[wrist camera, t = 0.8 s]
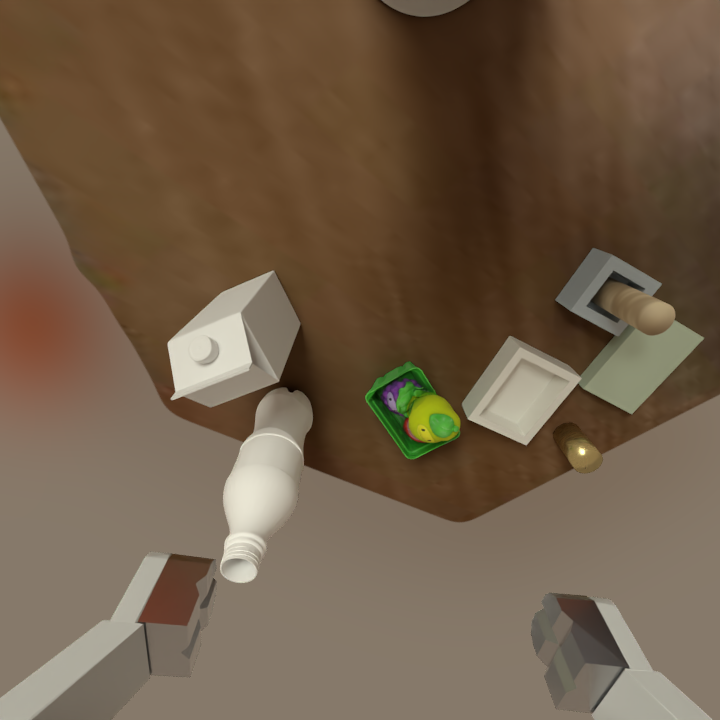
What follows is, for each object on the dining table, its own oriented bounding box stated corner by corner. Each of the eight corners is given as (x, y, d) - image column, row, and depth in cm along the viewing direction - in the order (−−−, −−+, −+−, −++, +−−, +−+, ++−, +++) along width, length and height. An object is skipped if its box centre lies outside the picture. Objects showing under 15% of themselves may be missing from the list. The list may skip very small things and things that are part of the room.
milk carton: (301, 323, 51) (270, 405, 33) (250, 344, 52) (194, 433, 35) (274, 269, 48) (225, 329, 31) (220, 292, 49) (144, 362, 32)
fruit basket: (361, 376, 54) (361, 426, 44) (421, 342, 52) (437, 386, 42) (405, 438, 58) (414, 497, 48) (462, 409, 56) (485, 464, 46)
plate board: (640, 301, 50) (653, 307, 48) (689, 330, 51) (704, 338, 49) (574, 379, 54) (583, 388, 52) (620, 404, 56) (631, 414, 54)
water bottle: (250, 401, 55) (173, 565, 33) (289, 370, 53) (237, 523, 31) (287, 435, 58) (239, 611, 35) (326, 408, 56) (302, 575, 33)
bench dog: (564, 418, 56) (585, 446, 51) (585, 428, 57) (608, 456, 52) (547, 438, 58) (567, 466, 52) (568, 448, 58) (589, 477, 53)
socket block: (593, 247, 47) (612, 254, 43) (639, 274, 48) (662, 283, 44) (554, 300, 49) (570, 310, 46) (599, 324, 51) (618, 336, 47)
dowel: (599, 271, 47) (656, 297, 38) (621, 283, 47) (682, 312, 38) (580, 295, 48) (631, 326, 39) (602, 307, 49) (657, 341, 40)
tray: (509, 335, 51) (520, 347, 48) (568, 365, 53) (581, 378, 50) (461, 403, 55) (467, 418, 52) (516, 429, 57) (526, 445, 54)
